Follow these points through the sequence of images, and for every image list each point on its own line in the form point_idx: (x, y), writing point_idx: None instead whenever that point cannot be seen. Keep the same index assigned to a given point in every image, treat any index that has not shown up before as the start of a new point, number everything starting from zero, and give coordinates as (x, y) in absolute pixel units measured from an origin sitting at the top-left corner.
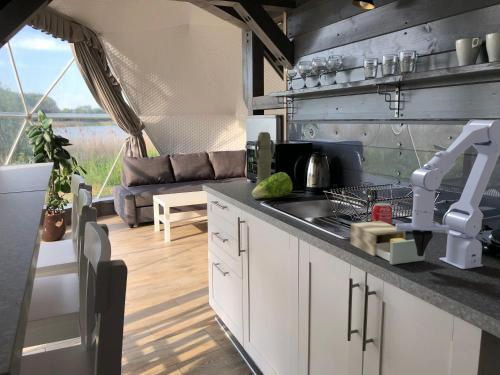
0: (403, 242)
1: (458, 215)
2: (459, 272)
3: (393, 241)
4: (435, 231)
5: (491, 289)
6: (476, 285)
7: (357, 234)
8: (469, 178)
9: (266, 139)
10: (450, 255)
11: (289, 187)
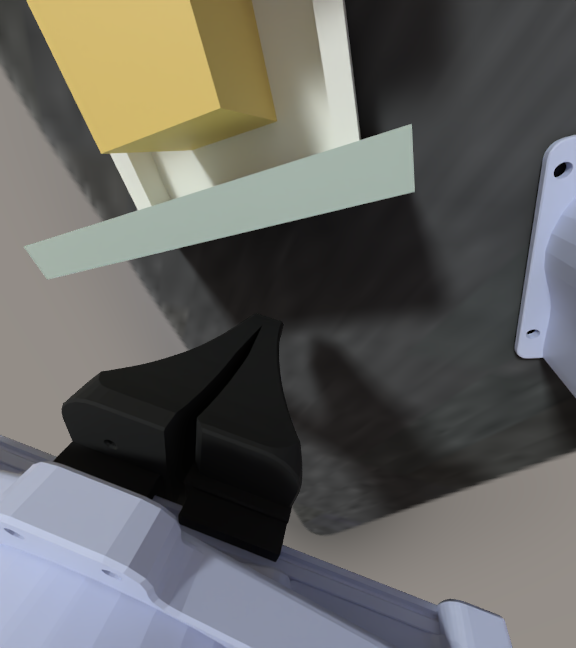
0: (128, 259)
1: None
2: (461, 372)
3: (63, 58)
4: (317, 580)
5: (433, 491)
6: (410, 465)
7: None
8: None
9: None
10: (574, 280)
11: None
